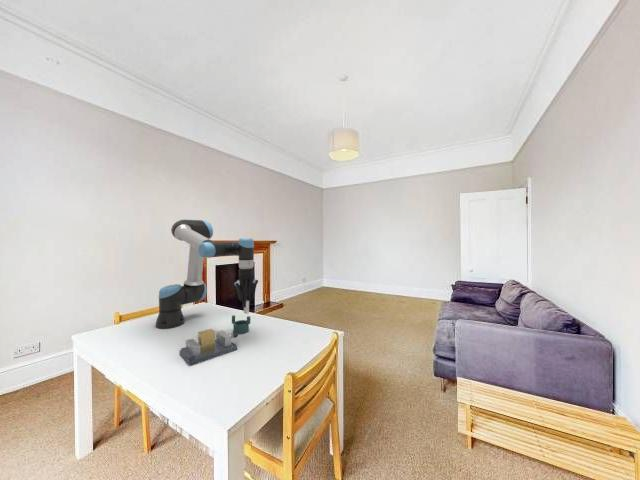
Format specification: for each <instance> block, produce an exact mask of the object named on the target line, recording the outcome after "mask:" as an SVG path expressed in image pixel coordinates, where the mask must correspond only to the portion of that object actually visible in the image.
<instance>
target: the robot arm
mask: <svg viewBox="0 0 640 480" xmlns="http://www.w3.org/2000/svg"><path fill="white" fill-rule="evenodd" d="M213 234H214V229H213V226H212V224H211V223H210V222H209V221H207V220H202V219H180V220H178V221H176V222H174V223H173V224H172V226H171V235H172V236H173V237H174V238H175V239H176V240H178V241H183V242H185V243H186V244H188V245H189V250H188V251H189V252H188V264H187V265H188V266H187V272H186V273H187V274H186V279H185V280H184V281H183V285H182V284H178V283H177V284H176V283H175V284H169V285H166V286H164V287H161V288H160V289H159V292H158V316H157V318H156V321H155V328H157V329H160V330H161V329H172V328H176V327H179V326H182V325H184V324H185V319H186V318H185V316H184V314H183V311H182V306H183V305H188V304H193V303H198V302H201V301H203V300H204V299H205V298H206V296H207V294H208V289H207V285H206V283H204V281H203V269H204V259H205V258H207V259H208V258H209V259H210V258H218V257H230V256H231V257H238V268H239V269H238V279H237V280H236V282H235V281H234V282H233V285H234V287H235V290H236V295H237V298H238V300H239V301H241V304H242V306H241V307H242V308H243V314H246V315H248V314H250V307H251V301H252V300H253V299H255V295H256V289H257V285H258V282H259V280H258V279H255V277H254V274H255V270H254V267H255V265H254V264H255V259H254V257H255V256H254V255H255V252H254V251H255V249H254V248H255V243H254V239H253V238H252V237H251V238H249V237H247V238H246V237H245V238H242V237H241V238H239V239H238V241H233V240H232V241H213V240H211V239H212V237H213V236H214V235H213Z"/></svg>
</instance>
